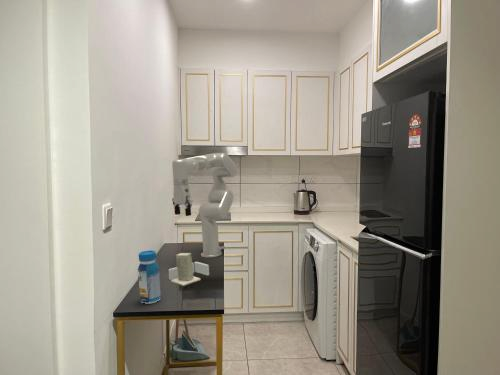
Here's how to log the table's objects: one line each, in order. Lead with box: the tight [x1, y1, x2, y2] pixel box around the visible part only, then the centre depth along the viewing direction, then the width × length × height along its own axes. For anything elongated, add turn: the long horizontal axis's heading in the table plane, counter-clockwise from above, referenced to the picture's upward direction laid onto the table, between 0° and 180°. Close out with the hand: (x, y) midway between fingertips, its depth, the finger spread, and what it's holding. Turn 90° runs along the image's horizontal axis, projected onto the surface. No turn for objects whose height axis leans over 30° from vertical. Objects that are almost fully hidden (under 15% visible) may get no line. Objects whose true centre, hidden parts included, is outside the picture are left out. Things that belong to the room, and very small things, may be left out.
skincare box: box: [175, 252, 195, 281], centre depth 161 cm, size 6×4×12 cm
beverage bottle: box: [137, 249, 162, 305], centre depth 138 cm, size 8×8×20 cm
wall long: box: [168, 262, 195, 281], centre depth 168 cm, size 14×1×5 cm, turn 136°
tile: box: [170, 275, 201, 287], centre depth 161 cm, size 10×10×1 cm
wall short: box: [193, 261, 210, 276], centre depth 171 cm, size 1×10×5 cm, turn 46°
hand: (182, 215), depth 181 cm, fingers open, 9 cm apart
